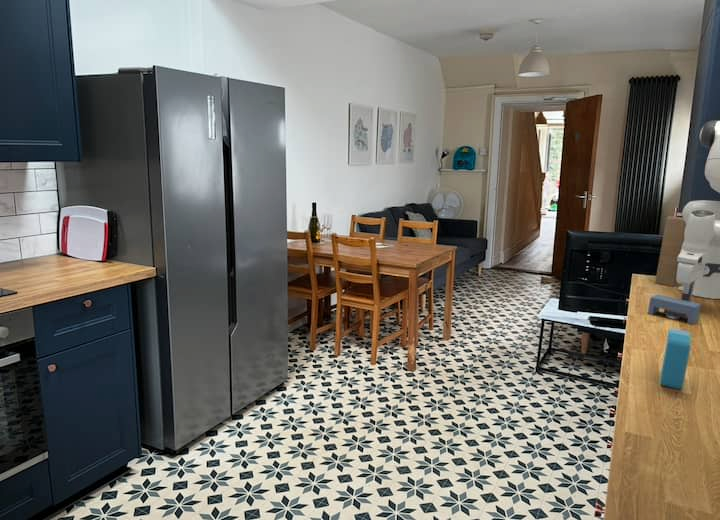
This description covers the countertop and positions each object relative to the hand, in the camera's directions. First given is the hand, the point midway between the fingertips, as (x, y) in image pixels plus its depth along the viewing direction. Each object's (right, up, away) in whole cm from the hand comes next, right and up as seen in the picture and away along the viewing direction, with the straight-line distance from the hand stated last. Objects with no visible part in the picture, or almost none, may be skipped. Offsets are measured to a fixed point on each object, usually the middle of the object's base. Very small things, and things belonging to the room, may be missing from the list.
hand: (687, 292), depth 191 cm
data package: (-43, -18, -61) cm, 77 cm away
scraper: (-4, -7, -2) cm, 9 cm away
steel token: (-10, -8, -7) cm, 15 cm away
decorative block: (+19, +2, +46) cm, 50 cm away
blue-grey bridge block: (-10, -8, -7) cm, 15 cm away
